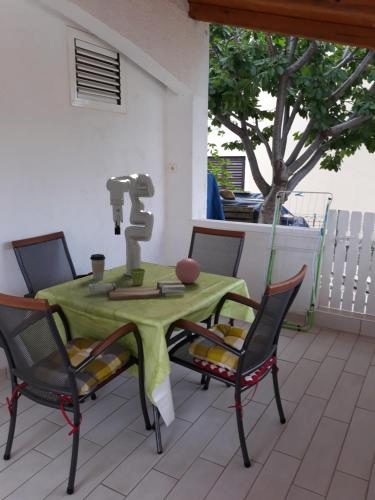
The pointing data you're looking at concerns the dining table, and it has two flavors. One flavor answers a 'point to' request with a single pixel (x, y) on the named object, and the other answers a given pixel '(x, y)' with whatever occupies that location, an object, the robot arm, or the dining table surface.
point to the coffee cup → (98, 265)
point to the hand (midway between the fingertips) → (117, 234)
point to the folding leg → (102, 287)
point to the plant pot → (137, 276)
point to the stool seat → (147, 291)
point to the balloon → (187, 270)
